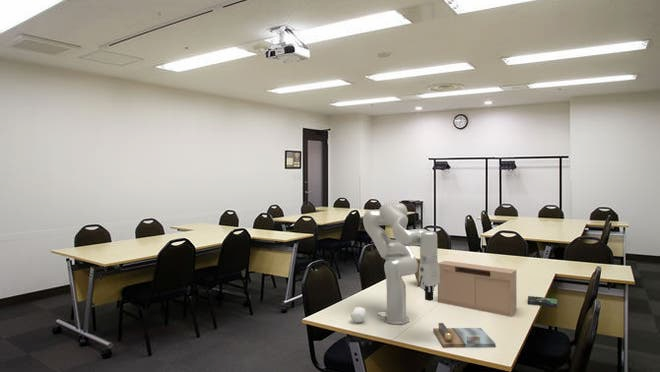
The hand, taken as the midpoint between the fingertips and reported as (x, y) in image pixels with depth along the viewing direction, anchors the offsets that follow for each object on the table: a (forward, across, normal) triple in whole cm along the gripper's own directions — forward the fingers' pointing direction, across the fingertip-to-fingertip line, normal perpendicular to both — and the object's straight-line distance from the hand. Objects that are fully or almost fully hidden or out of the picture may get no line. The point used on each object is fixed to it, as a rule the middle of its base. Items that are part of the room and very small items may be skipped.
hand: (429, 299), depth 186 cm
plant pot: (+17, +67, +56) cm, 88 cm away
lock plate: (+17, +10, -10) cm, 22 cm away
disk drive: (+18, +86, -11) cm, 89 cm away
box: (+18, +53, +10) cm, 57 cm away
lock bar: (+15, +4, -6) cm, 17 cm away
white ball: (+17, -10, +35) cm, 41 cm away
